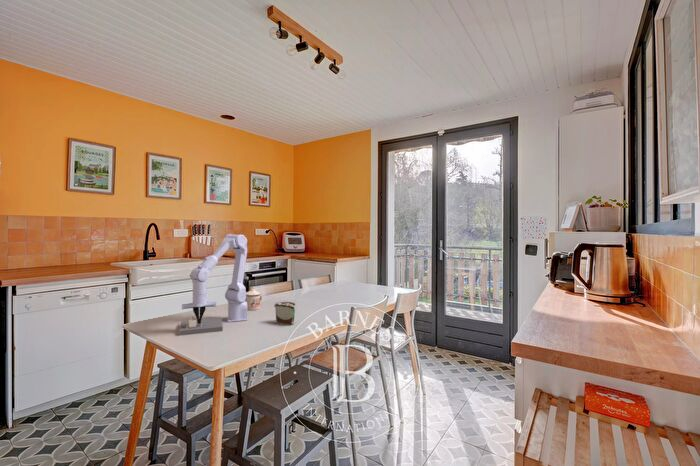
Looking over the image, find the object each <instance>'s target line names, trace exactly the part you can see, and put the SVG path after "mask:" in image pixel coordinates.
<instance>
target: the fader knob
mask: <svg viewBox="0 0 700 466" xmlns="http://www.w3.org/2000/svg"><path fill="white" fill-rule="evenodd" d="M188 320H189V328H190V327H196V320H197V318H196V317H195V316H191V317H190V318H189V319H188Z"/></svg>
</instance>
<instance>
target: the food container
mask: <svg viewBox="0 0 700 466" xmlns="http://www.w3.org/2000/svg"><path fill="white" fill-rule="evenodd" d="M273 307H274V309H275V322H276V324H280V323H282V325H286V324H288V325H287V326H291V325H292V326H293V325H294V323H295V313H296V310H297V304H296V302H292V301H279V302H278V301H277V302H274V306H273Z"/></svg>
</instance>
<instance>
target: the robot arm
mask: <svg viewBox="0 0 700 466" xmlns="http://www.w3.org/2000/svg"><path fill="white" fill-rule="evenodd" d="M247 244H248V238H247V237H246V236H245V235H244V234H235V233H234V234H233V233H228V234H226V236H225V237H224V238H223V239H222V241H221V244H219V245H218V247H217V248H216V250H215V251H214V252H213V253H212V254H211V255H208V256H204V260H203V261H202V262H201V263H200V264H199V265H197V267H196V268H193V269H192V270H191V272H190V274H189V277H190V279H191V281H192V282H191V283H192V302H191V303H189V302H188V303H181V310H185V309H186V310H188V309H192V312H193V313H194V315H195V318H196V320H197V322H198V324H201V319H203V316H204V314H205V311H206V308H212V307H214V308H217V301H207V280H208V279H209V278H210V275H211V272H212V271H213V270H214V269H215V268H216V266H217V265H218V262H219V260H220V258H221V257H222V256H224V254H226V252H227V251H228V250H230V249H232V250H233V251H234V253H235V256H234V264H233V271H232V278H231V282H230V284H228V285H227V289H226V291H225V293H224V297H225V299H226V300H227V305H228V306H227V314H228V315H227V316H226V320H227V323H231V322H233V323H234V322H242V321H248V310H247V302H245V299H246V292H247V291H246V286H245V285H244V278H245V269H246V262H247V256H248V245H247Z"/></svg>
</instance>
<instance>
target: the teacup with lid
mask: <svg viewBox="0 0 700 466" xmlns="http://www.w3.org/2000/svg"><path fill="white" fill-rule="evenodd" d="M262 299H263V295H262V294H261V292H260V291H257V290H256V289H255V288H250V290H249V291H246V299H245V301H244V302H247V311H257V310H260V308H261V302H262V301H263V300H262Z"/></svg>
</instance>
